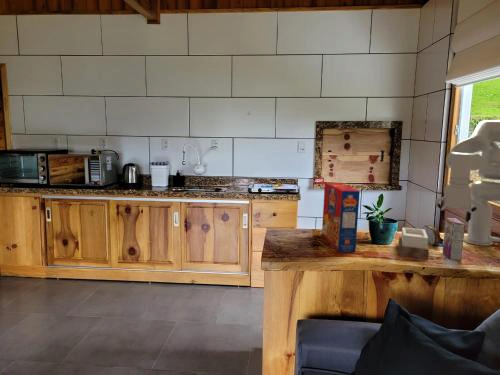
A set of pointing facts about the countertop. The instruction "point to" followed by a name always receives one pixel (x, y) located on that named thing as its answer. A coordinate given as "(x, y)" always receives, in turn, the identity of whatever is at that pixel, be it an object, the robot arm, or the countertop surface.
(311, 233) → the countertop surface
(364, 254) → the countertop surface
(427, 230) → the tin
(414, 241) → the tower top
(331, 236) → the cereal box
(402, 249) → the tower base
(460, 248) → the candy bar box
